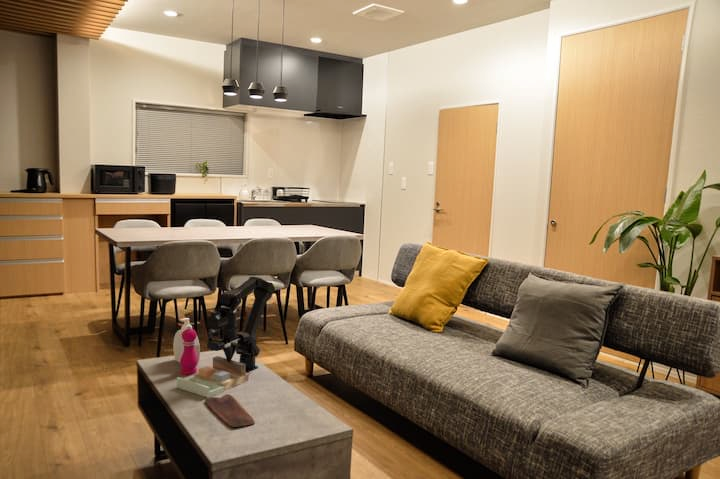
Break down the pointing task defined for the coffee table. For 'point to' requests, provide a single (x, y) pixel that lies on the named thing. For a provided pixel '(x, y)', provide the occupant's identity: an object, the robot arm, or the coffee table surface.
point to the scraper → (229, 366)
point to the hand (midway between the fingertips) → (228, 361)
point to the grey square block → (221, 376)
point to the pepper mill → (189, 352)
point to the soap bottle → (178, 342)
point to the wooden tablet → (230, 410)
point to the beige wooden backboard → (228, 383)
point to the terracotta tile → (206, 371)
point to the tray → (199, 387)
